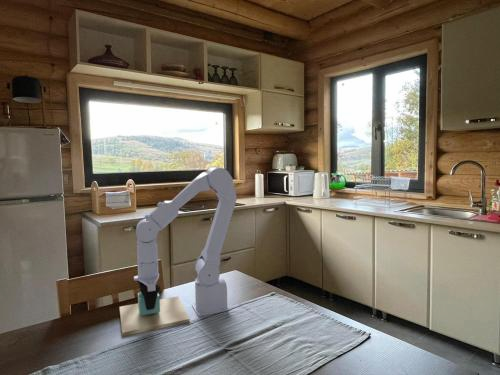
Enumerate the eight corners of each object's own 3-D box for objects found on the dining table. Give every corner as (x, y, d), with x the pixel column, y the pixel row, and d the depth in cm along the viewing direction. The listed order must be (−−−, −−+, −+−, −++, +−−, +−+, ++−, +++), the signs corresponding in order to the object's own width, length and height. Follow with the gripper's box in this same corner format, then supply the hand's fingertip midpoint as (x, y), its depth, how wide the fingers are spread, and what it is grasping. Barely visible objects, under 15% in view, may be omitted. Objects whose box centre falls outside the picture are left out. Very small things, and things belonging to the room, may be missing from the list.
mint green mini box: (157, 305, 101) (157, 289, 100) (160, 311, 97) (159, 295, 96) (138, 309, 99) (137, 292, 98) (139, 315, 95) (139, 298, 94)
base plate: (178, 299, 109) (177, 284, 109) (189, 322, 95) (189, 305, 94) (119, 309, 102) (118, 294, 102) (122, 336, 88) (121, 318, 87)
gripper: (131, 255, 101) (133, 297, 103) (135, 271, 88) (137, 319, 90) (155, 252, 104) (156, 293, 106) (162, 267, 91) (164, 314, 92)
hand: (149, 305), depth 98 cm, fingers closed on mint green mini box, 4 cm apart
